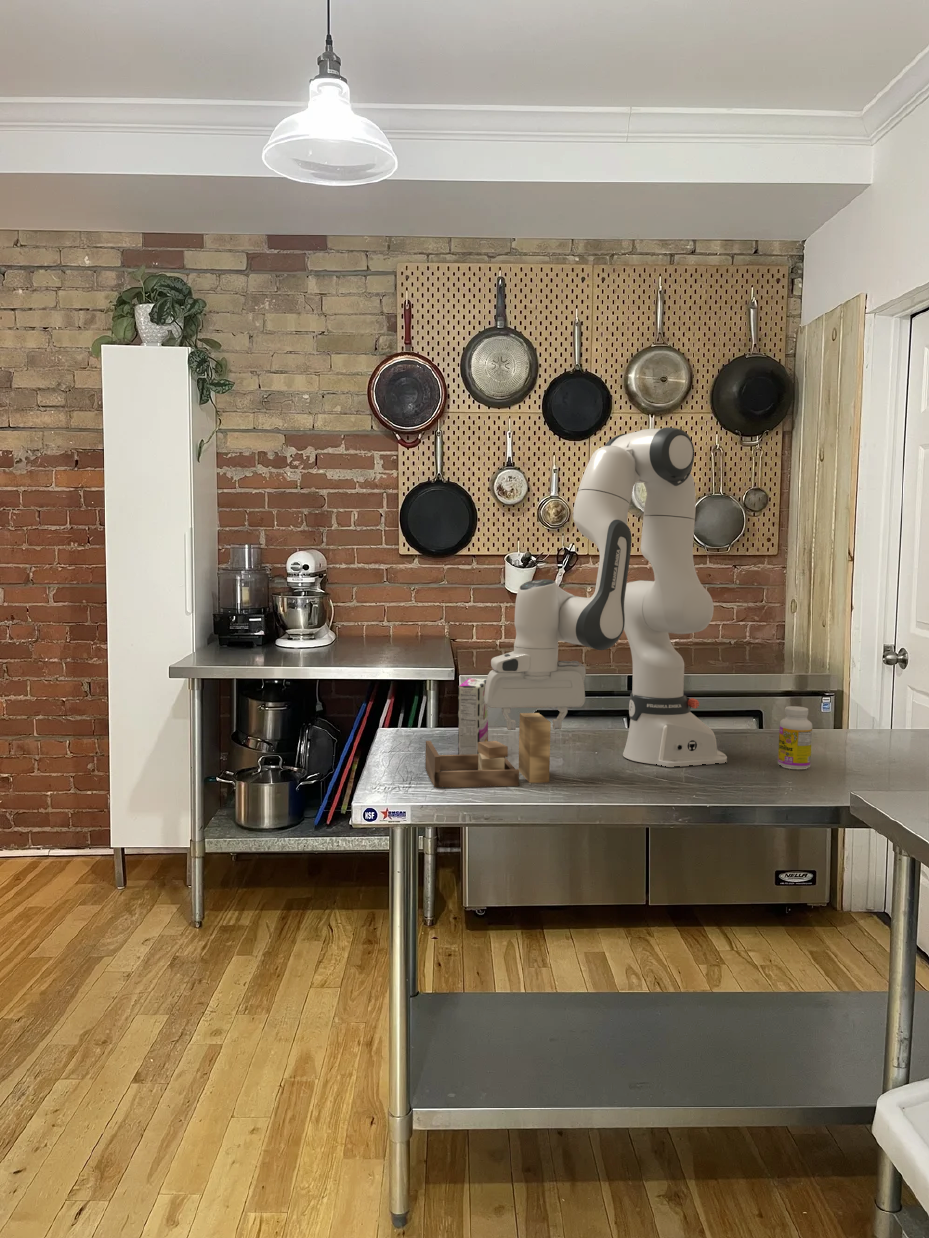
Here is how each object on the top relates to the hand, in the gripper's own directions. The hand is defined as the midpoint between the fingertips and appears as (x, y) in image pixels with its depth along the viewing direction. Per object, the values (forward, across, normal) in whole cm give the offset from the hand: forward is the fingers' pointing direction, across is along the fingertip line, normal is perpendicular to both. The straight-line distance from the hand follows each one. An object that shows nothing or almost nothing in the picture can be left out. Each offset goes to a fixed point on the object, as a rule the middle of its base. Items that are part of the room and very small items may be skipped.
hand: (534, 729), depth 191 cm
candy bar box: (+10, +9, -20) cm, 24 cm away
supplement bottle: (+10, -58, -2) cm, 59 cm away
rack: (+10, +13, 0) cm, 16 cm away
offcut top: (+5, +8, 0) cm, 10 cm away
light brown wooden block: (+10, 0, 0) cm, 10 cm away
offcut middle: (+8, +9, 0) cm, 11 cm away
